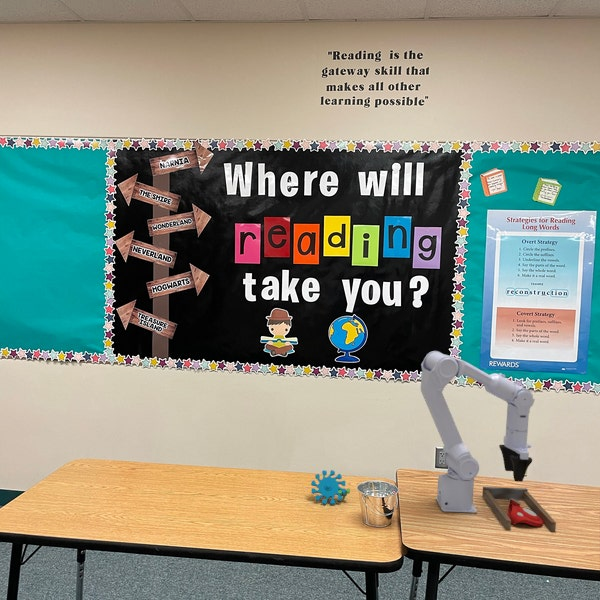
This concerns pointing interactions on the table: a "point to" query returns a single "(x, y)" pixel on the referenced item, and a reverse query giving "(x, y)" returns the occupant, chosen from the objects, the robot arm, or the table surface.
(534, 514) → the tracker holder
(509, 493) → the frame
